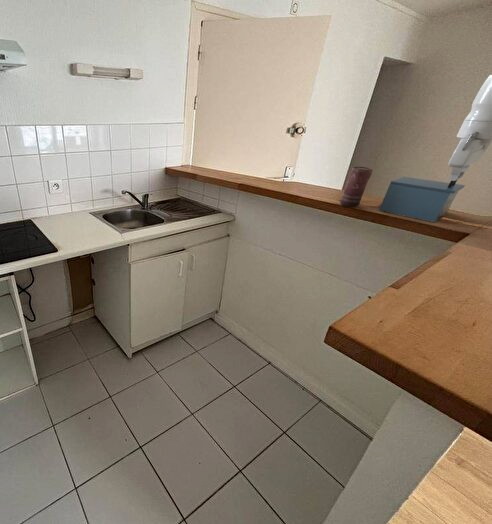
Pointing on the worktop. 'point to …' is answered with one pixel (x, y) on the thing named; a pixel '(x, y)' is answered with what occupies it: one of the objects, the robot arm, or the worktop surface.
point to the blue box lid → (429, 184)
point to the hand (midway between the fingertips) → (455, 178)
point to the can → (355, 186)
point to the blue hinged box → (417, 202)
